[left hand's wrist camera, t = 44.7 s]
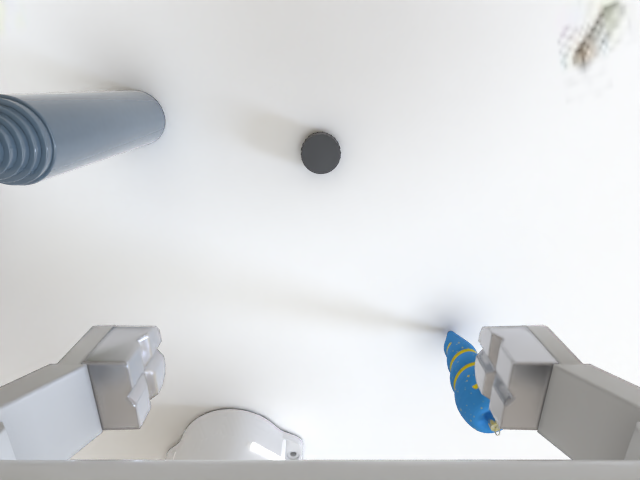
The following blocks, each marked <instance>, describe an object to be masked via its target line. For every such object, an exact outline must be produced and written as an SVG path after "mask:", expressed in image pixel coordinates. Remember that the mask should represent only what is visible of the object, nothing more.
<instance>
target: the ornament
mask: <svg viewBox="0 0 640 480" xmlns="http://www.w3.org/2000/svg"><path fill="white" fill-rule="evenodd" d="M444 352H445V355H446V357H447V366H448V369H449V372H450V382H451V386H452V389H453V391H454V393H455V402H456V405H457V408H458V410H459V412H460V414H461V416H462V417H463V418H464V420H465V421H466V422H467V423H468V424H469V425H470V426H471V427H473V428H474V429H476V430H477V431H480V432H483V433H494V432H495V434H496V432H498V431H499V434H500V431H501V430H503V429H500V428H499V426H498V424H497V422H496V420H495V418H494V416H493V415H492V413H491V411H490V409H489V404H490V399H488V398H487V397H485V396H484V395H482V394H481V392H480V390H479V388H478V385H477V382H476V377H475V360H476V356H477V355H478V354H477V352H476V350H475V348H474V347H473V346H472V345H471V344H470V343H469V342H467V341H466V340H465V339H463V338H462V337H460V336H459V335H457V334H456V333H454V332H453V331H449V332H448V333H447V338H446V341H445V344H444ZM499 434H498V435H499ZM496 435H497V434H496Z"/></svg>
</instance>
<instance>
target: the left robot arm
mask: <svg viewBox="0 0 640 480" xmlns="http://www.w3.org/2000/svg"><path fill="white" fill-rule="evenodd" d="M161 341H162V340H161V335H160V330H159V329H158V328H157V327H156V326H128V325H117V326H116V325H97V326H93V327H92V328H91V329H90V330H89V331H88V332H87V333H86V334H85V335H84V336H83V337H82V338H81V339H80V340H79V341H78V342H77V343H76V344H75V345H74V347H73V348H72V349H71V350H70V351H69V352H68V353H67V354H66V355H65V356H64V357H63V358H62V359H61V360H60V361H59V362H58V363H57V364H49V365H47V366H45V367H43V368H40V369H38V370H36V371H34V372H32V373H30V374H28V375H25V376H23V377H21V378H19V379H17V380H15V381H12V382H10V383H8V384H6V385H4V386H2V387H0V480H640V387H638V386H636V385H634V384H632V383H630V382H627V381H625V380H623V379H621V378H619V377H617V376H615V375H612V374H610V373H608V372H606V371H604V370H602V369H599V368H597V367H595V366H593V365H591V364H583V363H582V362H581V361H580V360H579V359H578V358H577V357H576V356H575V355H574V354H573V353H572V352H571V351H570V350H569V349H568V348H567V346H566V345H565V344H564V343H563V342H562V341H561V340H560V339H559V338H558V337H557V336H556V335H555V334H554V333H553V332H552V331H551V330H550V329H549V328H548V327H547V326H544V325H525V326H492V327H482V329H481V331H480V335H479V340H478V341H479V343H480V345H481V346H482V348H483V349H482V350H481V351H480V352H479V354H478V355H477V356H476V360H475V377H476V382H477V385H478V388H479V390H480V392H481V394H482V395H484V396H485V397H487V398H488V399H490V404H489V409H490V411H491V413H492V415H493V416H494V418H495V420H496V422H497V424H498V426H499V428H500V429H515V430H538V431H537V432H538V433H539V434H541V435H542V436H543V437H544V438H546V439H547V440H548V441H549V442H551V443H552V444H553V445H554V446H556V447H557V448H558V449H559V450H561V451H562V452H563V453H564V454H566V455H567V456H568V457H569V458H571V459H572V460H68V459H70V458H71V457H72V456H73V455H75V454H76V453H77V452H78V451H80V450H81V449H82V448H83V447H85V446H86V445H87V444H88V443H90V442H91V441H92V440H93V439H94V438H96V437H97V436H98V435H99V434H101V433H102V432H103V431H102V430H124V429H140V428H141V426H142V424H143V422H144V420H145V418H146V416H147V415H148V413H149V411H150V409H151V404H150V399H152V398H153V397H155V396H156V395H158V394H159V392H160V390H161V388H162V385H163V381H164V377H165V359H164V356H163V355H162V354H161V352H160V351H159V350H158V349H157V348H158V346H159V345H160V343H161Z"/></svg>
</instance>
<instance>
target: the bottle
mask: <svg viewBox="0 0 640 480" xmlns="http://www.w3.org/2000/svg"><path fill="white" fill-rule="evenodd" d="M164 127H165V117H164V113H163V110H162V108H161V106H160V105H159V103H158V102H157V101H156V100H155V99H154V98H153V97H152V96H151V95H149V94H147V93H145V92H142V91H137V90H126V91H92V92H57V93H22V94H0V183H3V184H7V185H31V184H35V183H38V182H40V181H43V180H46V179H49V178H52V177H55V176H58V175H61V174H64V173H67V172H69V171H72V170H75V169H78V168H81V167H84V166H87V165H90V164H93V163H96V162H98V161H101V160H104V159H107V158H110V157H113V156H116V155H119V154H122V153H125V152H127V151H130V150H133V149H136V148H139V147H142V146H145V145H148V144H151V143H153V142H155V141H156V140H157V139H158V138H159V137H160V136H161V135H162V133H163V130H164Z"/></svg>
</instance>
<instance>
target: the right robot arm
mask: <svg viewBox="0 0 640 480" xmlns="http://www.w3.org/2000/svg"><path fill="white" fill-rule="evenodd" d="M302 455H303V441H302V440H301V439H300V438H299V437H297V436H295V435H292V434H290V433H287V432H284V431H282V430H280V429H279V428H277V427H276V426H275V425H274V424H273V423H271V422H270V421H269V420H267V419H266V418H264V417H262V416H260V415H258V414H255V413H252V412H249V411H244V410H238V409H223V410H216V411H212V412H209V413H206V414H204V415H202V416H200V417H198V418H197V419H195V420H194V421H193V422H192V423H191V424H190V425H189V426H188V427H187V429H186V430H185V432H184V434H183V436H182V438H181V440H180V442H179V443H178V444H177V445H175V446H174V447H173V448H171V449H170V450H169V451H168V452H167V455H166V459H165V460H302Z"/></svg>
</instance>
